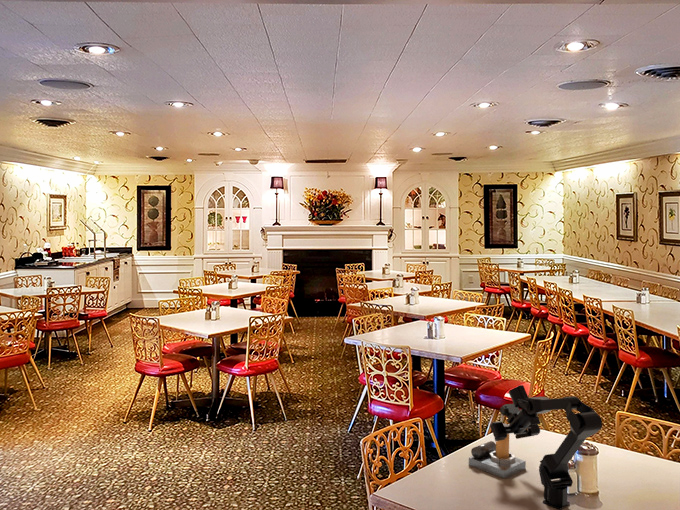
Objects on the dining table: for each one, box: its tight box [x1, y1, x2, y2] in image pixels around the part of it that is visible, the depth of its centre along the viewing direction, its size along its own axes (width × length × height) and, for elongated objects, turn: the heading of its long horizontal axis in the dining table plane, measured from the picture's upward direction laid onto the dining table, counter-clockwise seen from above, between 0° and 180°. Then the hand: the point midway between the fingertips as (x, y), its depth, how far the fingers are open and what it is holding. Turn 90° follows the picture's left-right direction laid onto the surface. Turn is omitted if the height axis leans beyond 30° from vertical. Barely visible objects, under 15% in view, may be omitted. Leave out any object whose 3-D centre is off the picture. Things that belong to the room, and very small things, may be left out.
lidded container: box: [495, 422, 510, 459], centre depth 220 cm, size 5×5×13 cm
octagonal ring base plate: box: [468, 440, 527, 479], centre depth 220 cm, size 16×14×7 cm
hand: (505, 438), depth 218 cm, fingers open, 9 cm apart
